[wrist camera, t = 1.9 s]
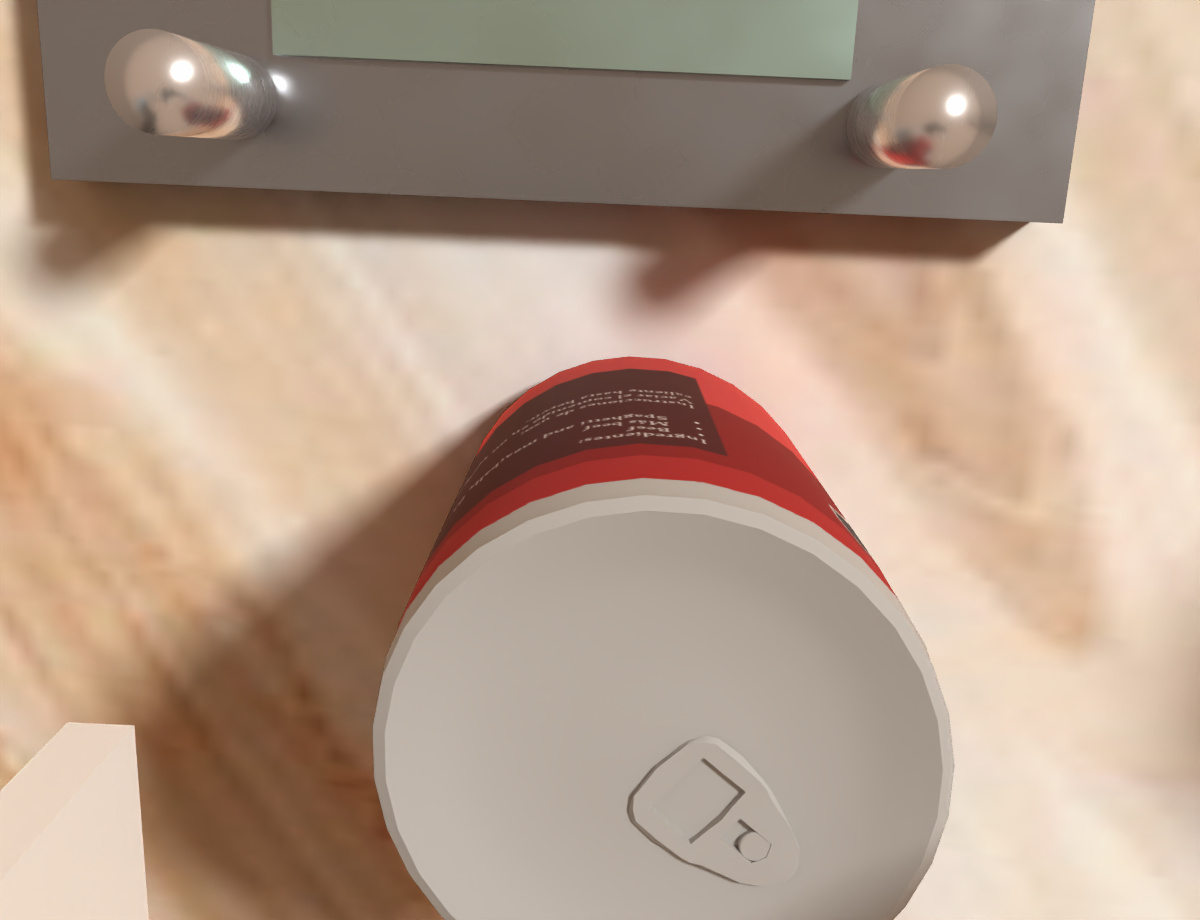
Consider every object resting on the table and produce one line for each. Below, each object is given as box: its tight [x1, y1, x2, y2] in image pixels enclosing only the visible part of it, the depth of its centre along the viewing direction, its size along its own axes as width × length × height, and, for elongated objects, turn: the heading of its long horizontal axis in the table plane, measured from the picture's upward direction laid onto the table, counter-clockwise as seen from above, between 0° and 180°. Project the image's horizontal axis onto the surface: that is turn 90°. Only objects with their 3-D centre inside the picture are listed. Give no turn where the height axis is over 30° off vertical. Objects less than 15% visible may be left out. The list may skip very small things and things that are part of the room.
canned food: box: [373, 357, 954, 920], centre depth 20 cm, size 8×8×11 cm
